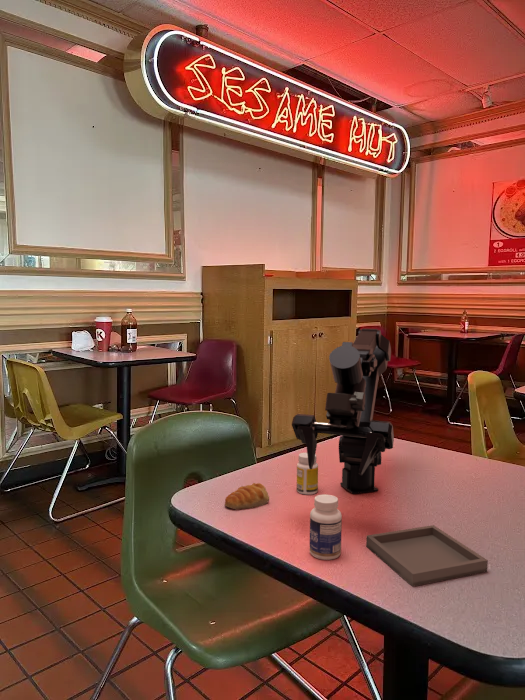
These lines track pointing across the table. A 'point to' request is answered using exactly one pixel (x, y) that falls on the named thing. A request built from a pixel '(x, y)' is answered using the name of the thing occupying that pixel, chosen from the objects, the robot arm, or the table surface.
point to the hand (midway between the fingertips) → (335, 471)
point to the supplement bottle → (307, 475)
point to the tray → (425, 555)
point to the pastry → (247, 497)
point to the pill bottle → (325, 528)
